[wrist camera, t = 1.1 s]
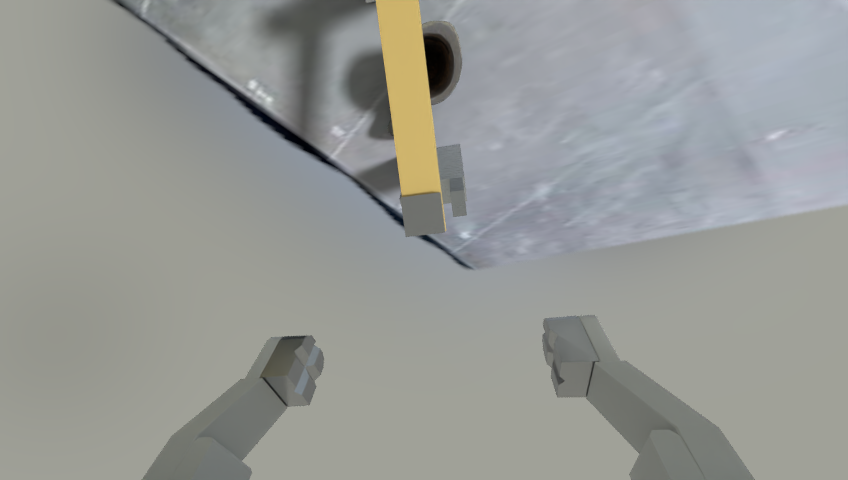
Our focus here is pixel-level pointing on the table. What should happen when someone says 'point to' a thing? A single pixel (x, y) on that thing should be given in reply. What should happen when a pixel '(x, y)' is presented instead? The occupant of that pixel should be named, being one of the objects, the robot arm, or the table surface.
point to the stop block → (452, 178)
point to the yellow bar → (411, 116)
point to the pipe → (440, 60)
